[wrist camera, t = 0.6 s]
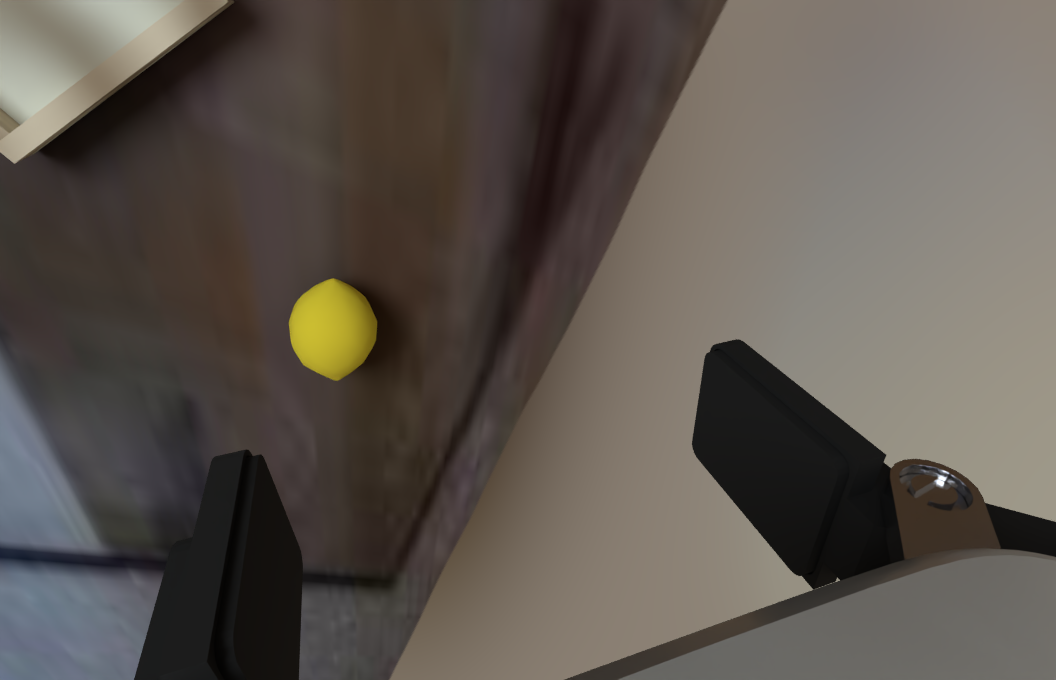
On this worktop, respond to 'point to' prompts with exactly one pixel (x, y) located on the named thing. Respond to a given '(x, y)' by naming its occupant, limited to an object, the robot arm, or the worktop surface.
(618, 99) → the worktop surface
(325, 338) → the lemon
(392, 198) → the worktop surface
